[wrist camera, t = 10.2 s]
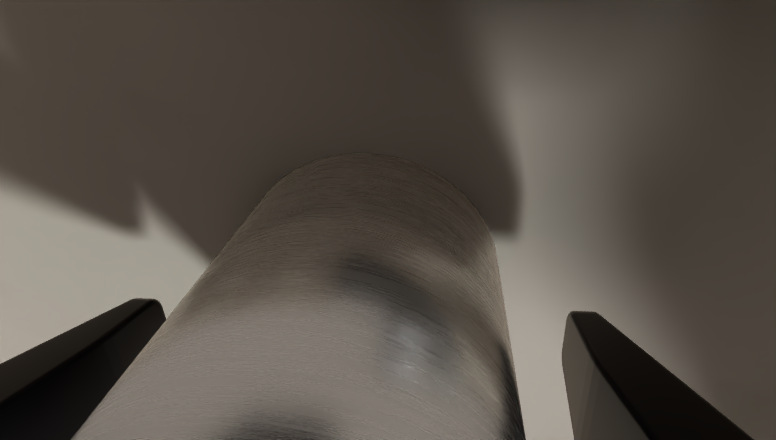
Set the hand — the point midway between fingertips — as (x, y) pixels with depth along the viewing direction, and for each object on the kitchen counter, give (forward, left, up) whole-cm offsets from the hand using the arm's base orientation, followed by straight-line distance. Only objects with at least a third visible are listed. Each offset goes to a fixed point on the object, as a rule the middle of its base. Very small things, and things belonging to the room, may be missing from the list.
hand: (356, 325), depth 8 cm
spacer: (0, 0, -2) cm, 2 cm away
